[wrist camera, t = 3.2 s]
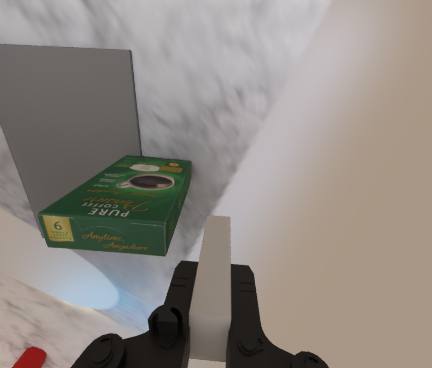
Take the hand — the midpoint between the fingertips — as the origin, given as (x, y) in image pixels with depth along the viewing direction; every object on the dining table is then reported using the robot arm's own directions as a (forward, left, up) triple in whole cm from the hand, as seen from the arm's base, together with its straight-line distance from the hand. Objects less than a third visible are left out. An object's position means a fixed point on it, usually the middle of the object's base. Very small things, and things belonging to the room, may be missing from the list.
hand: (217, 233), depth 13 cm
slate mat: (-18, 0, -12) cm, 21 cm away
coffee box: (-8, 0, -12) cm, 14 cm away
